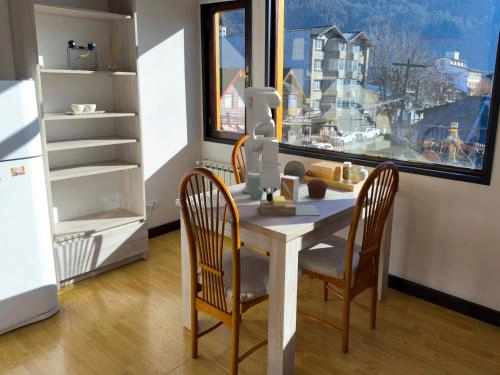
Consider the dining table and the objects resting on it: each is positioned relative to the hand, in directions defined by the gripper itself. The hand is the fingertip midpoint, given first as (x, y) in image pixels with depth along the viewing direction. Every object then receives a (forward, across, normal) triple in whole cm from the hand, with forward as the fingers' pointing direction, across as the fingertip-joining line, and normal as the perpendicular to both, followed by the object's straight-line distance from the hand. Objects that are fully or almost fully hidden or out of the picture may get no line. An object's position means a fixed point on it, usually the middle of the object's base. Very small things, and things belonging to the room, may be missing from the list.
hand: (269, 201), depth 206 cm
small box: (+5, -13, -19) cm, 24 cm away
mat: (+5, -18, 0) cm, 19 cm away
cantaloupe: (+5, -21, -55) cm, 60 cm away
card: (+1, -5, 0) cm, 5 cm away
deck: (+5, -4, 0) cm, 7 cm away
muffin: (+5, -30, -26) cm, 40 cm away
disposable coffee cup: (+5, +5, -23) cm, 24 cm away
